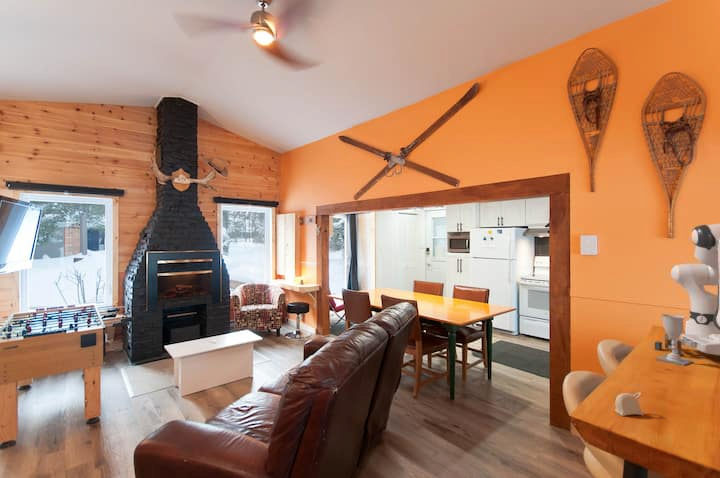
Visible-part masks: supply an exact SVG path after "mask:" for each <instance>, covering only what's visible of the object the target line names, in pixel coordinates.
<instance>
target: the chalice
mask: <svg viewBox="0 0 720 478" xmlns="http://www.w3.org/2000/svg"><path fill="white" fill-rule="evenodd" d="M661 316H662V318H663V320H662V321H663V322H662V323H663V324H662V326H663V328H664V331H665V332H666V333H665V334H668V336H669V337H670V338H672V342H671V343H672V347H671V348H672V351H671V352H669V353H667V355H668V356H667V357H666V359H668V360H672V361H682V359H683V358H682V357H681V355H679V354H677V353H676V351H675V350H676V346H675V345H676V342H675V339H680V335H681V334H683V331H684V320H685V318H686V317H685V316H682V315H677V314H661ZM681 358H682V359H681Z"/></svg>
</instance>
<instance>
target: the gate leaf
mask: <svg viewBox="0 0 720 478" xmlns="http://www.w3.org/2000/svg"><path fill="white" fill-rule="evenodd" d="M677 339H678V338H677ZM677 339H675V342H676V345H675V346H676V350H675V351H676V353H677V354H679V355H680V356H682V345H681V341H679V340H677ZM671 342H672V338H670V337H669V336H668V334H667V333H665V334H664V348H666V349H668V350H670V351H671V352H672V348H671V347H672V343H671Z"/></svg>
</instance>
